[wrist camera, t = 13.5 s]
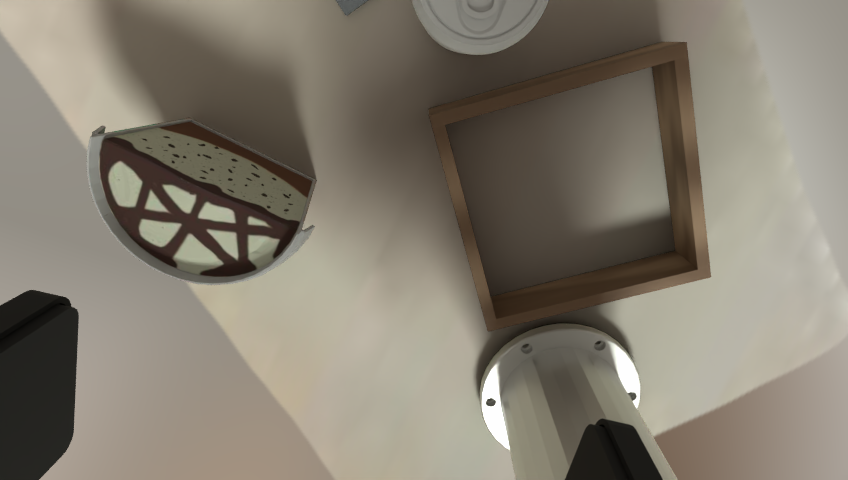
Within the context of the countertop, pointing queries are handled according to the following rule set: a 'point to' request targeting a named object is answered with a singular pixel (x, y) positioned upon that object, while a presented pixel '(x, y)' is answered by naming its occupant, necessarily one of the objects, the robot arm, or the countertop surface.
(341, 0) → the charcoal mat
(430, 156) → the countertop surface
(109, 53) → the countertop surface
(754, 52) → the countertop surface
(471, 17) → the beverage can
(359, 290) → the countertop surface
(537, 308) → the walnut box
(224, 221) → the food container
